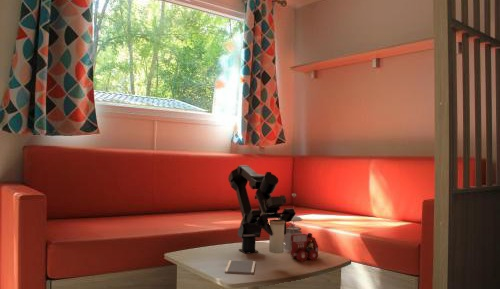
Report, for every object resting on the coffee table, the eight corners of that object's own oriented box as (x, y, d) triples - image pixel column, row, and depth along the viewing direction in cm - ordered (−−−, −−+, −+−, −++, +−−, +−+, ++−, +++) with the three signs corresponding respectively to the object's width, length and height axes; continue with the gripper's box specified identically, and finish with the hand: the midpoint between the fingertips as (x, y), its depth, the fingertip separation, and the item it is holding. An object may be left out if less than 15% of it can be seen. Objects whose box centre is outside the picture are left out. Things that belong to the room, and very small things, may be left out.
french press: (304, 248, 193) (306, 192, 193) (302, 254, 182) (304, 195, 182) (282, 247, 195) (284, 191, 195) (279, 252, 184) (281, 194, 184)
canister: (265, 250, 162) (266, 219, 162) (279, 249, 165) (280, 219, 165) (273, 254, 157) (274, 222, 157) (286, 252, 159) (287, 221, 160)
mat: (229, 261, 166) (229, 260, 166) (255, 263, 166) (255, 261, 166) (224, 272, 151) (225, 270, 151) (253, 274, 151) (253, 272, 151)
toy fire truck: (322, 260, 174) (322, 234, 174) (295, 262, 169) (295, 235, 169) (313, 256, 180) (313, 231, 180) (286, 258, 175) (287, 232, 176)
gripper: (251, 188, 161) (263, 223, 150) (293, 187, 169) (308, 220, 159) (241, 206, 168) (253, 240, 157) (283, 205, 176) (296, 237, 166)
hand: (278, 234), depth 160 cm, fingers closed on canister, 5 cm apart
